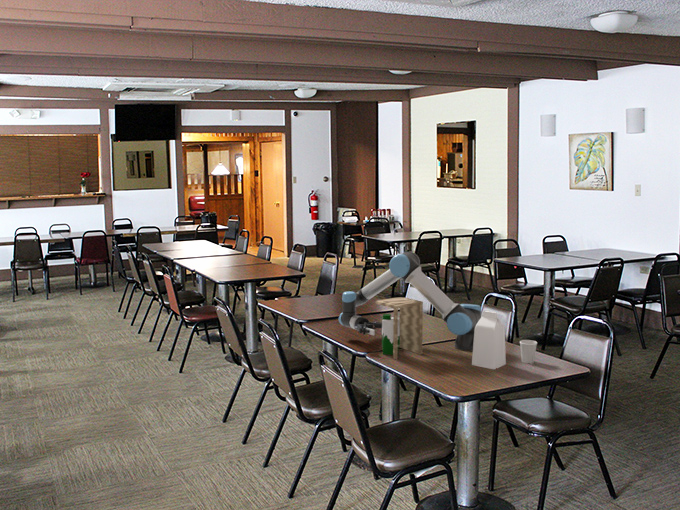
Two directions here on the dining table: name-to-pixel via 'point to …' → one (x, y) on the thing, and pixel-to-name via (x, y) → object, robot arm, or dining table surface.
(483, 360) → the milk
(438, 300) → the robot arm
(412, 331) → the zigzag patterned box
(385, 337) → the soya milk
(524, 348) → the dixie cup
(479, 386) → the dining table surface
